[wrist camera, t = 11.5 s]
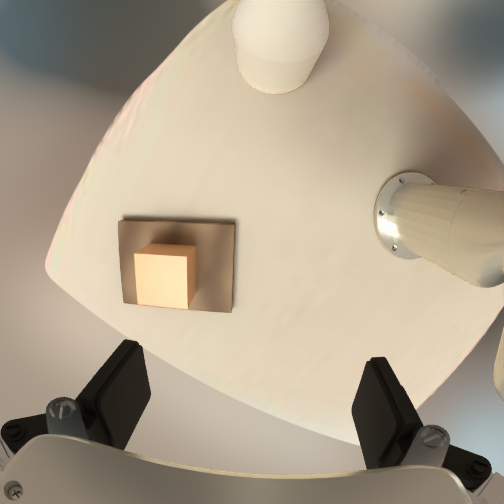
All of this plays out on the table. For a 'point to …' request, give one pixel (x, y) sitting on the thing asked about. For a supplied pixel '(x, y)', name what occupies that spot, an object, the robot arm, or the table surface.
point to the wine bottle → (279, 41)
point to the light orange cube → (166, 275)
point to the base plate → (207, 257)
